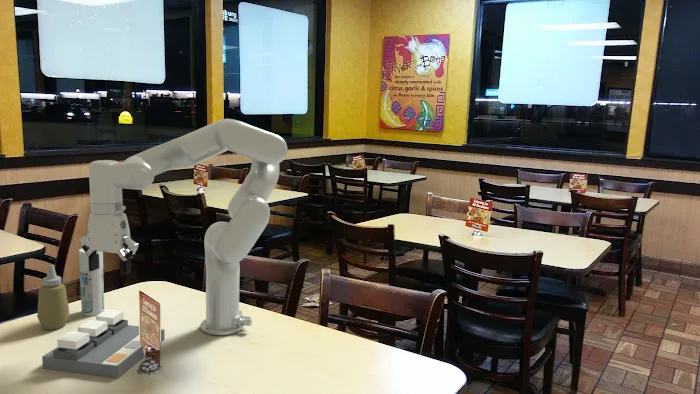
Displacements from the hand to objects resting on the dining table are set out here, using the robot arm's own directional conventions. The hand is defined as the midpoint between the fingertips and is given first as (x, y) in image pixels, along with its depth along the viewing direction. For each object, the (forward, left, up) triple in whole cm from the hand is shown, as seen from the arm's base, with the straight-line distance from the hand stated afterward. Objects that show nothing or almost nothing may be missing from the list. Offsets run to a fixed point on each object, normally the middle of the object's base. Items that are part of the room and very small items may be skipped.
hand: (109, 271), depth 140 cm
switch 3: (+2, -3, -15) cm, 15 cm away
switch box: (-2, +5, -20) cm, 21 cm away
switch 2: (+2, +5, -15) cm, 16 cm away
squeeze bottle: (+22, -6, -21) cm, 31 cm away
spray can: (+18, -18, -21) cm, 33 cm away
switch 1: (+2, +12, -15) cm, 19 cm away
